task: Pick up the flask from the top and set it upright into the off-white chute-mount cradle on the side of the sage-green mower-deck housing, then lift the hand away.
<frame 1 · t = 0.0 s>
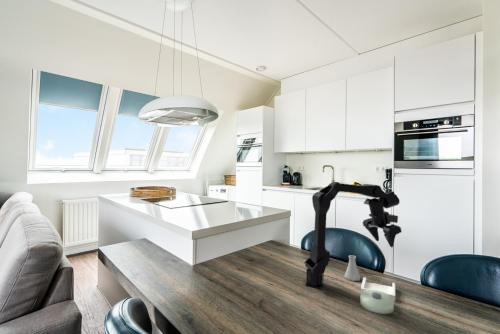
hand: (384, 243, 118), 15 cm above the table, tool pointing down, fingers open, 9 cm apart
flask: (352, 278, 117), on the table
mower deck: (377, 298, 99), on the table
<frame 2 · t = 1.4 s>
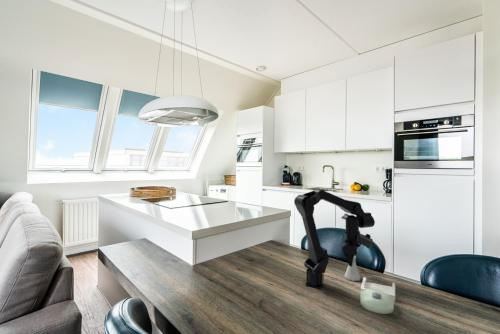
hand: (352, 262, 117), 7 cm above the table, tool pointing down, fingers open, 9 cm apart
nothing on the table moved.
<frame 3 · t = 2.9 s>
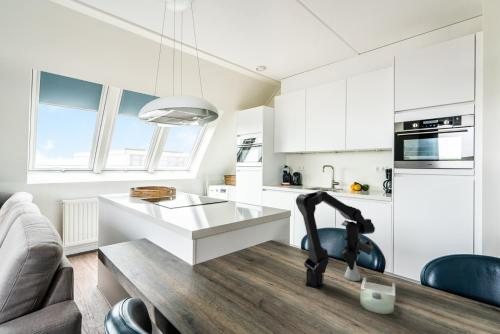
hand: (352, 269, 117), 4 cm above the table, tool pointing down, fingers closed on flask, 3 cm apart
flask: (352, 278, 117), on the table, touching gripper
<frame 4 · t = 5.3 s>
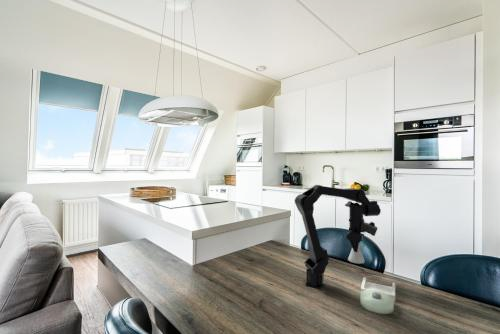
hand: (356, 251, 115), 13 cm above the table, tool pointing down, fingers closed on flask, 3 cm apart
flask: (356, 261, 115), point 8 cm above the table, touching gripper
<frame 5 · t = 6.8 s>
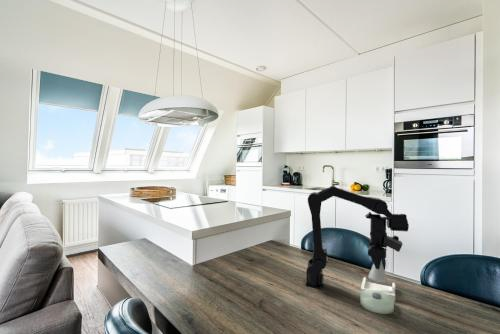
hand: (377, 267, 104), 10 cm above the table, tool pointing down, fingers closed on flask, 3 cm apart
flask: (377, 279, 104), point 5 cm above the table, touching gripper
when the fingers open (6 cm above the table, at t = 8.1 s): flask stays where it is, resting on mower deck.
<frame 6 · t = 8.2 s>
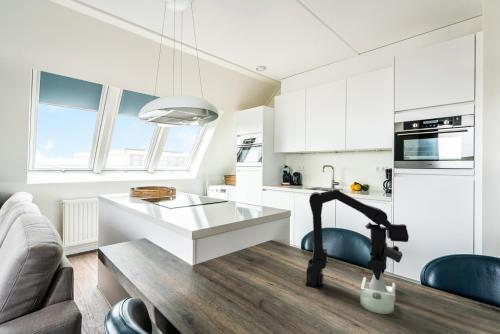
hand: (377, 278, 104), 6 cm above the table, tool pointing down, fingers open, 3 cm apart
flask: (377, 290, 104), resting on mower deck
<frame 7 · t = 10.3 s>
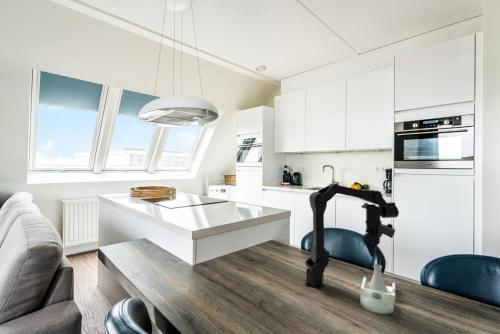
hand: (373, 253, 114), 12 cm above the table, tool pointing down, fingers open, 9 cm apart
nothing on the table moved.
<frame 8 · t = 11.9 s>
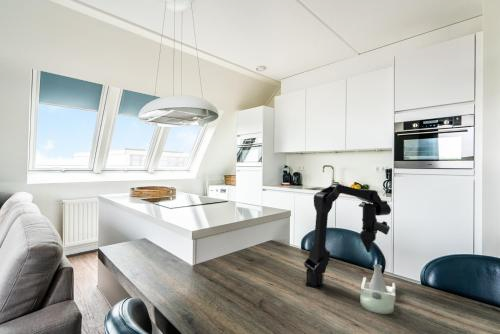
hand: (369, 249, 120), 12 cm above the table, tool pointing down, fingers open, 9 cm apart
nothing on the table moved.
at the end: flask inside the target area on the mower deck (0.5 cm from its centre), point 0.4 cm above the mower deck's base; flask tilted 0°; the gripper is holding nothing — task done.
